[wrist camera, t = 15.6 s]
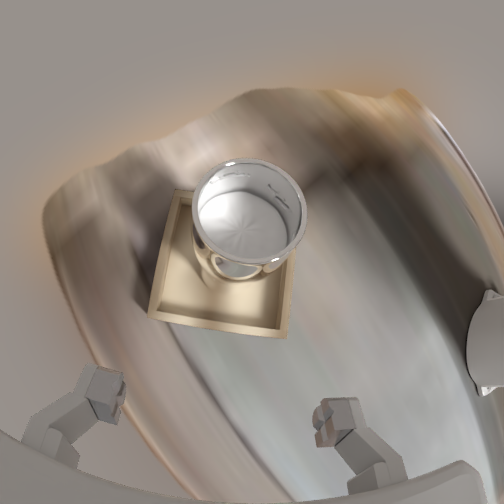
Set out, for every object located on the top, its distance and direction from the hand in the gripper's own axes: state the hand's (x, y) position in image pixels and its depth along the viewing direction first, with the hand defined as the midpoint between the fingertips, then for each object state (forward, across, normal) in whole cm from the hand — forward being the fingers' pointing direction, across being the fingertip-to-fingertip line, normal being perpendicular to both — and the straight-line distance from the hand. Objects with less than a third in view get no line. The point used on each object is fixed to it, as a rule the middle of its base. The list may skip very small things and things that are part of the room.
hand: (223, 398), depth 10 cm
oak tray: (+20, 0, +6) cm, 21 cm away
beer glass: (+20, 0, +6) cm, 20 cm away
